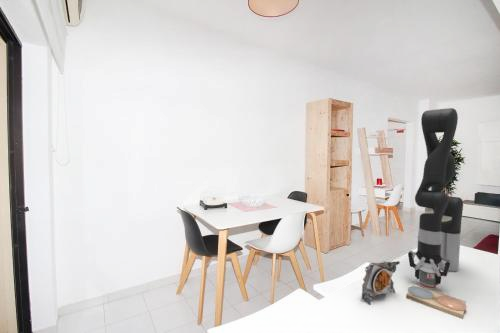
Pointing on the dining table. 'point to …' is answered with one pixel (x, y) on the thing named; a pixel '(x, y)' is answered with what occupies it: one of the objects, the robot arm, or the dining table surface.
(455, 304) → the terracotta pad
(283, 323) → the dining table surface
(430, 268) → the pill bottle
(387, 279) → the meal
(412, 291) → the grey pad
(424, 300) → the board
